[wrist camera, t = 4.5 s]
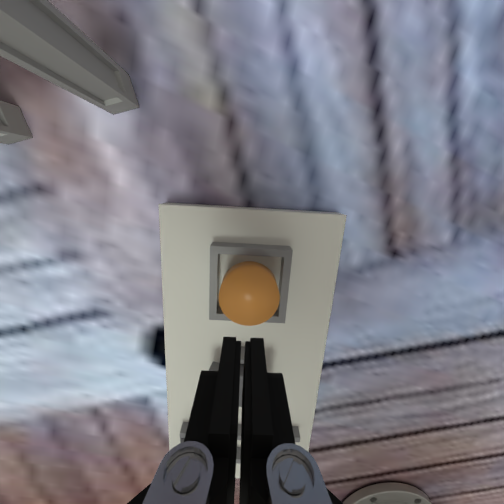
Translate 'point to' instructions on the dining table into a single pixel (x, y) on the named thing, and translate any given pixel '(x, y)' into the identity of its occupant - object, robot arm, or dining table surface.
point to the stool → (57, 62)
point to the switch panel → (218, 325)
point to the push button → (249, 293)
